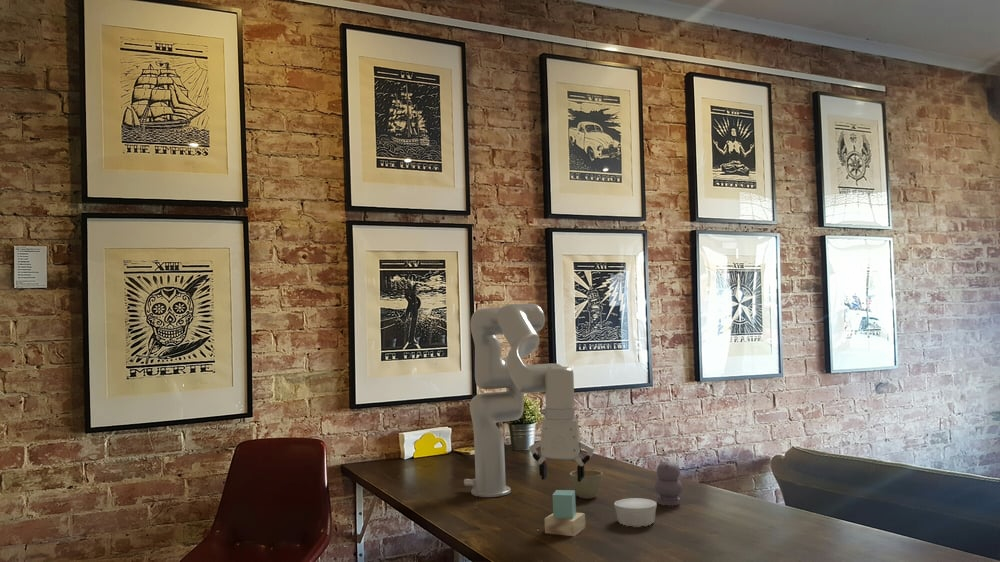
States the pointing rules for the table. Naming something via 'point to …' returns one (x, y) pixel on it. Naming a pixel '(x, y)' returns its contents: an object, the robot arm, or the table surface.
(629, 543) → the table surface
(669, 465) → the cat figurine
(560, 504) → the block
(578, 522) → the base
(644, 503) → the ramekin
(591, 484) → the flower pot
